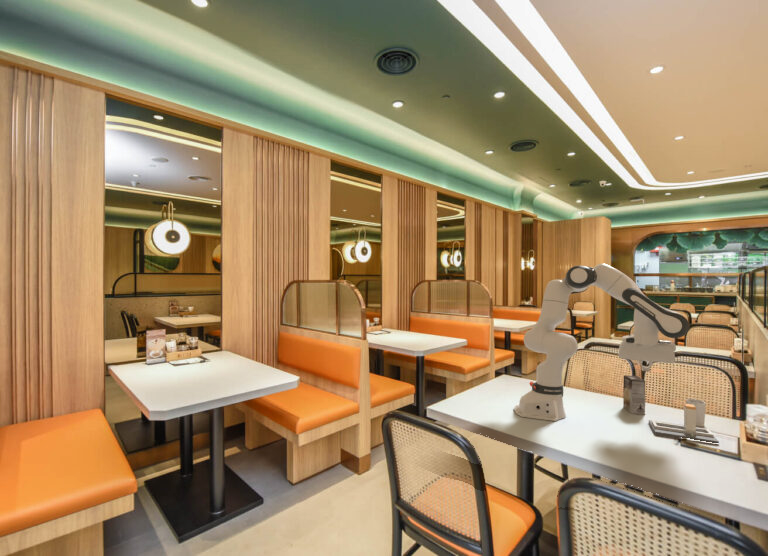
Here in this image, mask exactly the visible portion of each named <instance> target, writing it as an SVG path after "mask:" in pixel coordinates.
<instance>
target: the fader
mask: <svg viewBox="0 0 768 556" xmlns="http://www.w3.org/2000/svg"><path fill="white" fill-rule="evenodd" d="M683 412H684V413H683V425H684V429H685V430H690V431H696V427H697V426H696V407H695V406H694V405H692V404H686V403H683Z"/></svg>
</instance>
